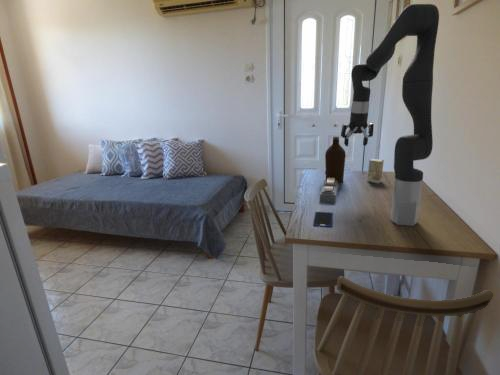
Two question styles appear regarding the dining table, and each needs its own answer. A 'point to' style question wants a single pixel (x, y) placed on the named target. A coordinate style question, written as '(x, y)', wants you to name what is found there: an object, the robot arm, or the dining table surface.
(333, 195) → the switch panel
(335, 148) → the olive oil
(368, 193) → the dining table surface
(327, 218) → the cell phone
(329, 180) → the far switch
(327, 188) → the near switch
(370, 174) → the skincare box
